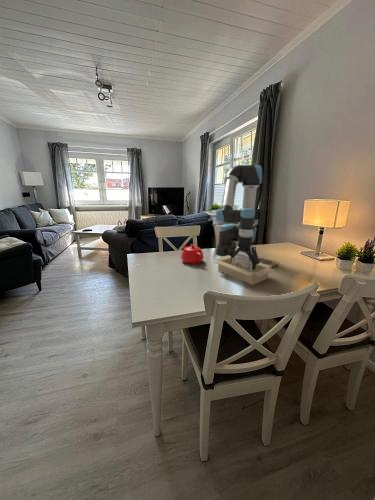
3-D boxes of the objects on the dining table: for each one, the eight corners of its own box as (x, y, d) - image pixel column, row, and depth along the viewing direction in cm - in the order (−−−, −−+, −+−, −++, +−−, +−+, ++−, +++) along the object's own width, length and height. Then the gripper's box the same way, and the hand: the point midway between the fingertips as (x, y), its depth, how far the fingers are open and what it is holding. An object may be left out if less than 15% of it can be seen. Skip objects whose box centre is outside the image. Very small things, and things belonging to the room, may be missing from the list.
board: (248, 263, 145) (248, 262, 144) (260, 260, 153) (260, 258, 153) (266, 270, 134) (267, 268, 134) (278, 265, 143) (278, 263, 142)
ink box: (233, 274, 126) (235, 255, 123) (235, 271, 131) (237, 253, 127) (247, 277, 123) (249, 258, 119) (249, 274, 127) (251, 255, 123)
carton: (208, 270, 132) (209, 260, 130) (232, 263, 145) (232, 253, 144) (254, 289, 108) (255, 278, 106) (277, 279, 121) (278, 268, 119)
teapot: (211, 264, 142) (212, 247, 138) (191, 268, 134) (192, 250, 130) (191, 254, 162) (191, 239, 159) (173, 257, 154) (173, 241, 151)
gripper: (224, 232, 127) (221, 266, 133) (261, 241, 108) (256, 279, 114) (232, 231, 131) (229, 263, 137) (269, 239, 113) (264, 276, 119)
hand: (241, 271), depth 126 cm, fingers open, 13 cm apart
